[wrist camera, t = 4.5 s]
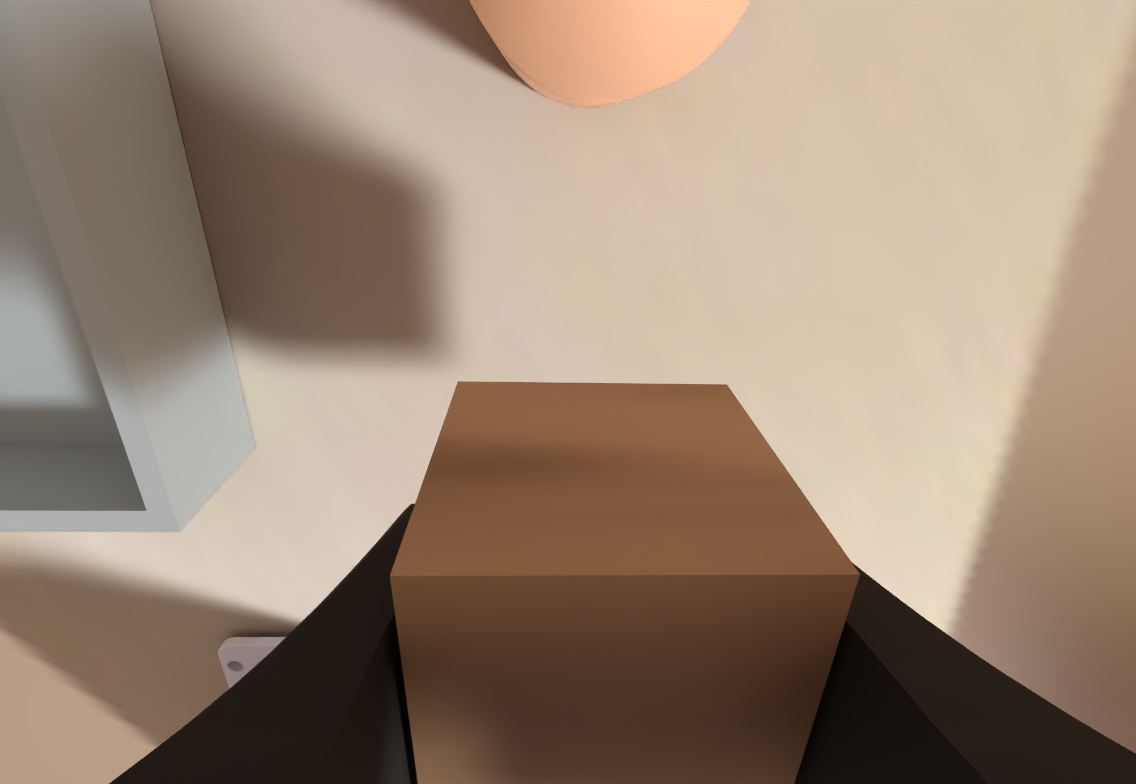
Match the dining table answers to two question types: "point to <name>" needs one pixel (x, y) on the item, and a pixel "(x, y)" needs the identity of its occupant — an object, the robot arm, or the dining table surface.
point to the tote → (104, 284)
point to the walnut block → (613, 592)
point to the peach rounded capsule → (605, 43)
